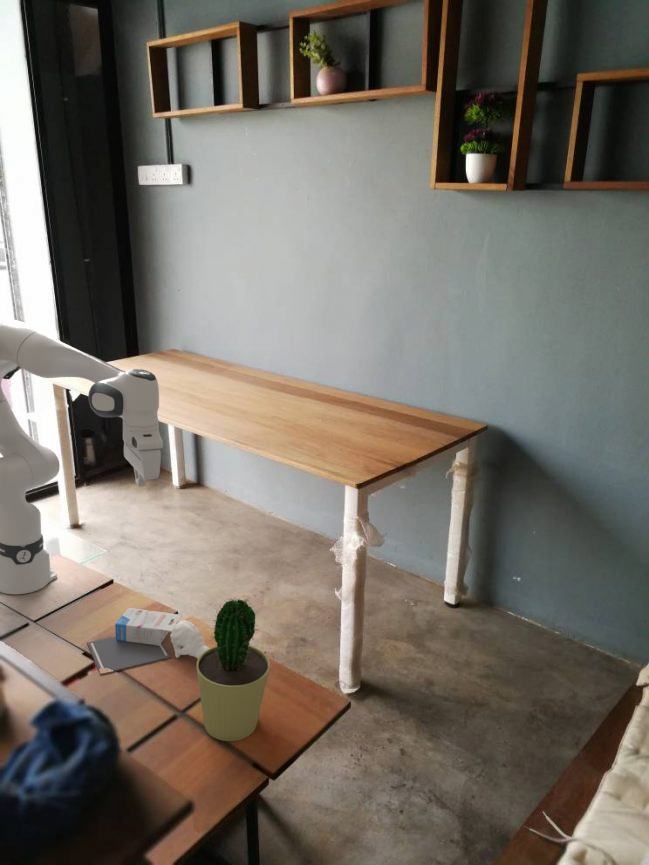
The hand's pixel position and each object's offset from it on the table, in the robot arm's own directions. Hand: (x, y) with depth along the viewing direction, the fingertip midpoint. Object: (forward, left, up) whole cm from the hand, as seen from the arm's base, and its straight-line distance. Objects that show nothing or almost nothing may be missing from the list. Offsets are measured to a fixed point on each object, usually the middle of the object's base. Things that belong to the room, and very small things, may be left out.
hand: (140, 484), depth 179 cm
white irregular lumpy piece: (+26, +6, -37) cm, 46 cm away
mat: (+17, -7, -37) cm, 41 cm away
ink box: (+8, -7, -34) cm, 36 cm away
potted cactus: (+52, +5, -37) cm, 64 cm away
